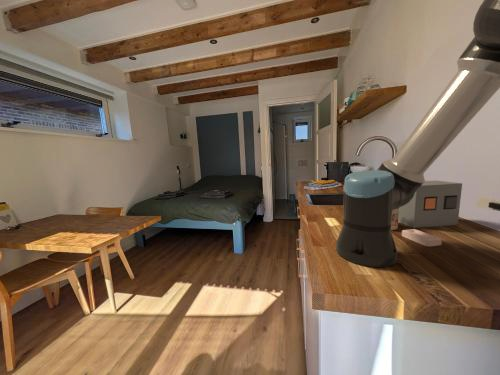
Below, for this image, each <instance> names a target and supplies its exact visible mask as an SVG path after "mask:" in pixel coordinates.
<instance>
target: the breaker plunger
mask: <svg viewBox="0 0 500 375" xmlns="http://www.w3.org/2000/svg"><path fill="white" fill-rule="evenodd" d="M435 202H436V198H433V197H424V209H435Z"/></svg>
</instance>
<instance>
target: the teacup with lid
mask: <svg viewBox="0 0 500 375" xmlns="http://www.w3.org/2000/svg"><path fill="white" fill-rule="evenodd" d="M399 208H400V207H399ZM399 208H396V209H394V210H392V220H391V231H395V230H397V229H399V222H398V217H399Z"/></svg>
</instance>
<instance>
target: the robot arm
mask: <svg viewBox="0 0 500 375" xmlns="http://www.w3.org/2000/svg"><path fill="white" fill-rule="evenodd" d="M472 24H473V26H472V28H473V29H472V31H473V35H474V37H473V39H472V40H471V41H470V43H468V45H467V46H466V48H465V49H464V50H463V52H462V54H460V56H459V58H458V59H457V61H456V65H457V68H458V70H457V72H456V73H455V75H454V76H453V78H452V79H451V80H450V82H449V83H448V84H447V86H446V87H445V89H443V91H442V92H441V93H440V95H439V96H438V97H437V99H436V100H435V102H434V103H433V104H432V105H431V106H430V108H428V110H427V112H426V113H425V115H424V116H423V117H422V119H421V120H420V121H419V123H418V124H417V125H416V126H415V128H414V129H413V131H412V132H411V133H410V134H409V136H408V137H407V138H406V140H405V141H404V143H403V144H402V145H401V146H400V148H399V149H398V151H396V153H395V155H394V156H393V157H392V158H391V159H387V160H383V161H382V163H381V164H380V165H379V167H378V168H377V169H376V170H375V169H373V170H371V169H369V170H362V171H354V172H351V173H349V174H347V175H346V176H345V177H344V184H343V186H342V187H343V189H342V190H343V206H342V207H343V209H342V210H343V211H342V213H343V214H342V216H343V218H342V227H341V230H340V232H339V234H338V236H337V237H338V238H337V239H336V243H335V251H336V253H337V254H338V255H339V256H340V257H341V258H343V259H345V260H347V261H349V262H351V263H354V264H355V265H356V264H357V265H360V266H365V267H372V268H385V267H391V266H393V265H395V264H397V262H398V249H397V247H396V244H395V243H396V242H395V240H394V236H393V234H392V230H391V220H392V210H394V209H396V208H399V207H402V206H404V205H406V204H407V203H409V202H410V201H411V200H412V198H413V196H414V194H415V192H416V191H417V190H418V188H419V187H420V186H421V185H422V184H423V183H424V182H425V181H426V180H425V176H424V174H425V172H426V171H427V170H428V169H429V168H430V167H431V166H432V165H433V163H435V161H436V160H437V159H438V158H439V157H440V156H441V155H442V153H443V152H444V151H445V150H446V149H447V148H448V147H449V146H450V144H451V143H452V142H453V141H454V140H455V139H456V138H457V137H458V136H459V134H460V133H461V132H462V131H463V130H465V129H464V128H465V127H467V125H468V124H469V123H470V122H471V121H472V120H473V118H475V116H476V115H477V114H478V113H479V112H480V111H481V109H482V108H483V107H484V106H485V105H486V104H487V103H488V102H489V100H491V98H492V97H493V96H494V95H495V93H497V91H498V90H500V0H483V1H482V3H481V4H480V5H479V8H478V10H477V12H476V14H475V16H474V19H473V23H472ZM476 201H477V202H476V207H479V208H483V209H488V210H492V211H493V210H494V211H497V212H500V199H495V198H489V197H485V196H480V197H479V196H478V198H477V200H476Z"/></svg>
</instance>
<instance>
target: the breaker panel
mask: <svg viewBox="0 0 500 375" xmlns="http://www.w3.org/2000/svg"><path fill="white" fill-rule="evenodd" d="M462 190H463V183H462V182H461V183H460V182H453V181H443V180H425V182H424V183H423V184H422V185H421V186H420V187H419V188H418V190H417V191H416V192H415V194H414V196H413V198H412V200H411V201H410V202H409V203H407V204H406V205H404V206H402V207H400V208H399V217H398V223H400V224H403V225H405V226H407V227H410V228H413V229H417V228H431V227H443V226H458V225H459V216H460V208H461V198H462ZM424 197H433V198H436V202H435V209H424ZM457 224H458V225H457Z"/></svg>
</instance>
